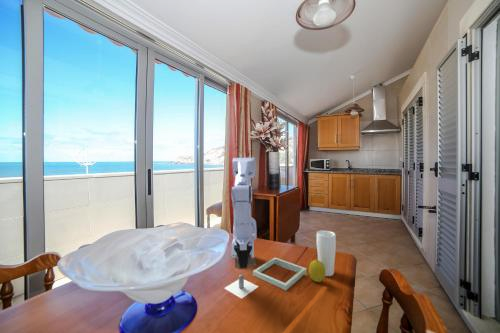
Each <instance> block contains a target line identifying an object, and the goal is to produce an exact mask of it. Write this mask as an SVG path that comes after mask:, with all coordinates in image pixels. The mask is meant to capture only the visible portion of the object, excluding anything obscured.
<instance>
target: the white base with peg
mask: <svg viewBox="0 0 500 333" xmlns="http://www.w3.org/2000/svg"><path fill="white" fill-rule="evenodd" d="M244 276H245V275H244V274H239V275H238V279H237V280H235V281H233V282H232V283H230V284H229V285H227V286H225V287H224V288H223V289H224V290H225V291H227V292H229V293H231V294H233V295H235V296H237V297H238V298H239V299H243V298H245V297H247V296H248V295H249V294H250V293H252V292H254V291H255V290H256V289H258V288H259V285H256V284H254V283H253V282H250V281H248V280H246V279H244Z"/></svg>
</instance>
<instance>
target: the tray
mask: <svg viewBox="0 0 500 333" xmlns="http://www.w3.org/2000/svg"><path fill="white" fill-rule="evenodd" d="M273 265H277V266H279V267H282V268H285V269H288V270H290V271H293V272H296V273H295V274H294V275H293V276H292V277H291V278H290V279H288V280H287V281H286V282H283V281H281V280H279V279H276V278H274V277H272V276H270V275H267V274H265V273H263V272H264V271H265V270H267V269H268V268H270V267H271V266H273ZM252 276H254V277H256V278H258V279H260V280H262V281H264V282H267V283H269V284H271V285H273V286H275V287H277V288H280V289H282V290H284V291H287V290H288V289H290V288H291V287H292V286H293V285H294V284H296V282H297V281H298V280H300V279H301V278H302V277H303V276H307V268H306V267H303V266H300V265H297V264H295V263H292V262H289V261H286V260H284V259H281V258H277V257H273V258H271V259H270V260H268V261H266V262H265V263H264V264H262V265H260V266H259V267H257V268H255V269H253V270H252Z"/></svg>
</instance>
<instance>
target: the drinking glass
mask: <svg viewBox="0 0 500 333" xmlns="http://www.w3.org/2000/svg"><path fill="white" fill-rule="evenodd" d="M315 240H316V250H317V251H316V252H317V260H319V261H321V262H322V263H323V264H324V266H325V271H326V275H325V277H332V276H333V275H334V274H335V259H336V250H337V249H336V248H337V247H336V245H337V244H336V243H337V236H336V233H335V232H333V231H331V230H318V231H316V239H315Z"/></svg>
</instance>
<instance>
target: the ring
mask: <svg viewBox="0 0 500 333" xmlns="http://www.w3.org/2000/svg"><path fill="white" fill-rule="evenodd" d="M256 266H257V260H256V257H254V258H251V254H250V255H249V258H248V264H247V268H240V266H239V261H238V256H237V254H236V255H235V258H234V267H235V268H236V269H237V270H242V271H243V270H248V269H250V268H252V267H256Z"/></svg>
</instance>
